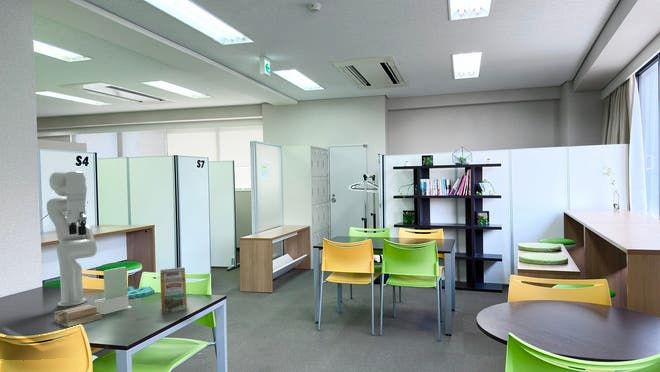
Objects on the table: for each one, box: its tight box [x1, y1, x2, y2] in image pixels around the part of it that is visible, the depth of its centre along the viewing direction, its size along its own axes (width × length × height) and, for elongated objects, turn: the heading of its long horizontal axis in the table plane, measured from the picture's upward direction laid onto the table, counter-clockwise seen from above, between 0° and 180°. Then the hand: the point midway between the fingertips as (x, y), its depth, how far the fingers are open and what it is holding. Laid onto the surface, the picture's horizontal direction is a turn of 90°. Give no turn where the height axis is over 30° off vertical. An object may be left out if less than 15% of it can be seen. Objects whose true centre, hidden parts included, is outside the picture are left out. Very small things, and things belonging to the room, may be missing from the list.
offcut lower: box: [63, 312, 98, 325], centre depth 182 cm, size 6×11×2 cm, turn 143°
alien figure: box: [104, 286, 155, 300], centre depth 232 cm, size 20×2×20 cm
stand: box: [94, 295, 133, 315], centre depth 199 cm, size 9×13×6 cm
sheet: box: [103, 266, 128, 300], centre depth 201 cm, size 1×10×18 cm, turn 142°
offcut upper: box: [63, 304, 98, 319], centre depth 182 cm, size 6×11×2 cm, turn 143°
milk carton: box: [159, 266, 188, 315], centre depth 199 cm, size 11×11×19 cm
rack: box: [53, 304, 103, 328], centre depth 184 cm, size 14×13×6 cm
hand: (77, 234), depth 201 cm, fingers open, 9 cm apart
